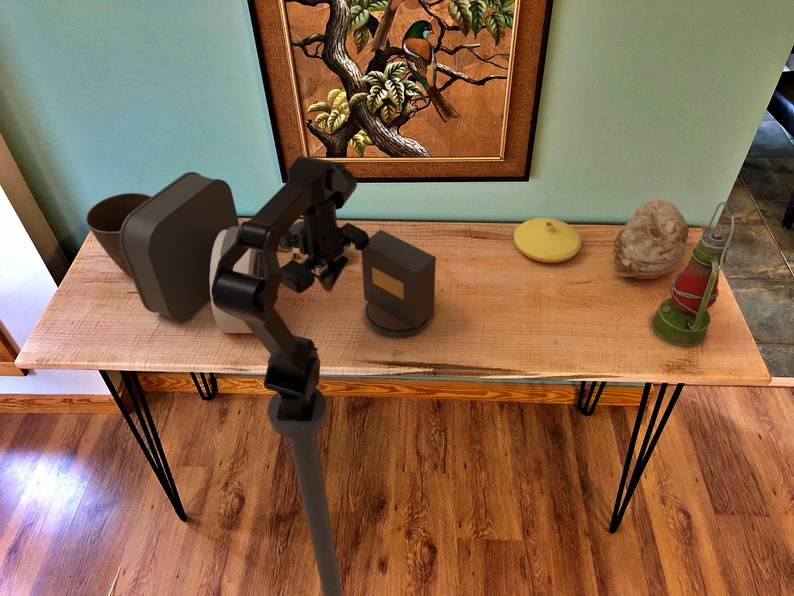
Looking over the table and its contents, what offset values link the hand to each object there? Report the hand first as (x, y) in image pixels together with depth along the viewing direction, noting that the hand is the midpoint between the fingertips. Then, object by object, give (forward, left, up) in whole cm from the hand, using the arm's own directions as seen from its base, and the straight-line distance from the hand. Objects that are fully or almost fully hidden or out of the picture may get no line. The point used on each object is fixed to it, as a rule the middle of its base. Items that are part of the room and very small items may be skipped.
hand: (328, 290), depth 119 cm
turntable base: (+7, -13, -13) cm, 20 cm away
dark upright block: (+7, -13, -11) cm, 19 cm away
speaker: (+13, +32, -13) cm, 37 cm away
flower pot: (+20, +47, -13) cm, 53 cm away
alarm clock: (+7, +19, -13) cm, 24 cm away
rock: (+25, -68, -13) cm, 74 cm away
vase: (+31, -47, -13) cm, 58 cm away
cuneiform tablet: (+28, +17, -13) cm, 36 cm away
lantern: (+5, -71, -13) cm, 72 cm away
